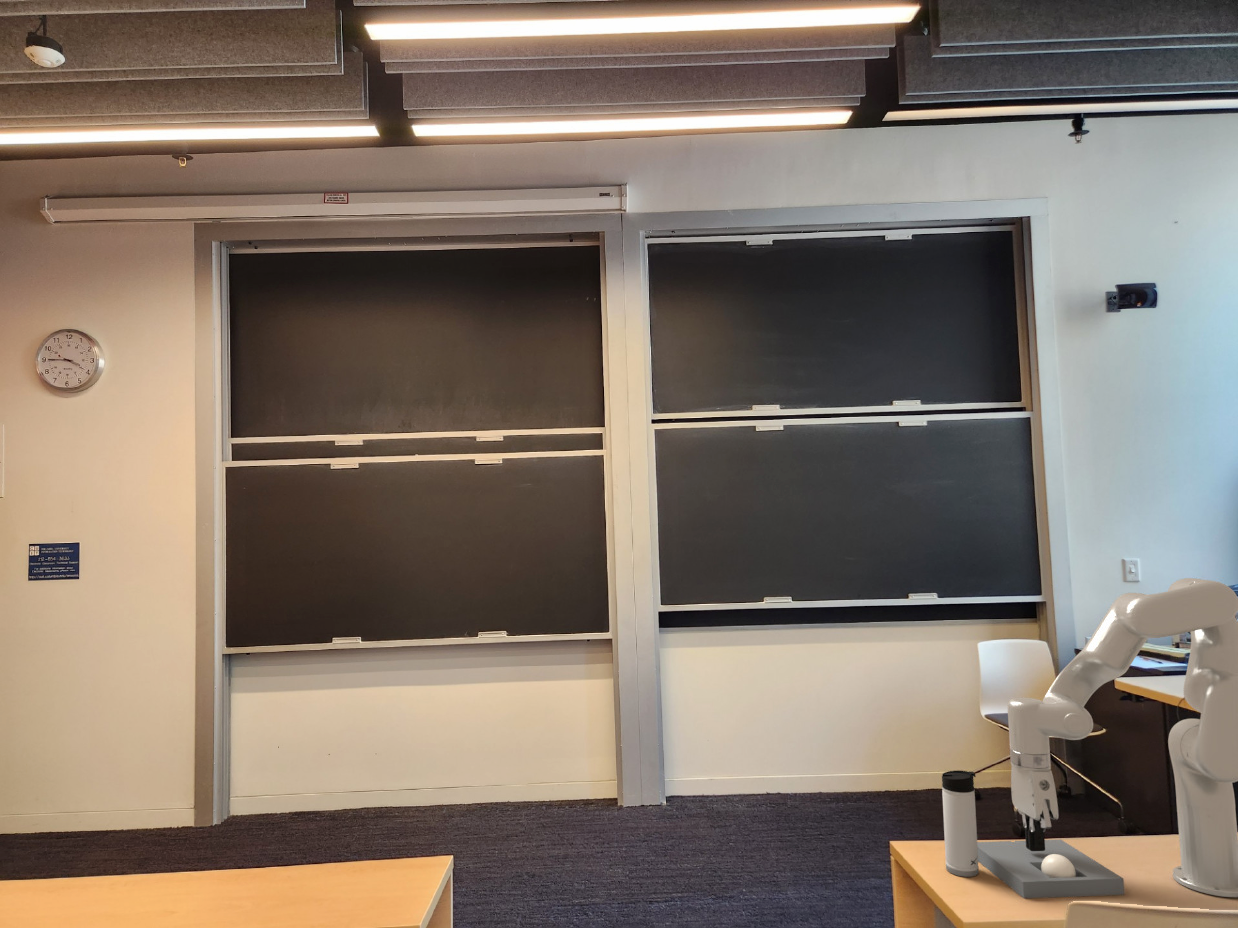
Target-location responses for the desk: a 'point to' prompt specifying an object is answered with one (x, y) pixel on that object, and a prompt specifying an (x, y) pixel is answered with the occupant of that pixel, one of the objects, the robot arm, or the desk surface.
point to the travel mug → (960, 823)
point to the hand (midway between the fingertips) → (1035, 849)
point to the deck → (1031, 882)
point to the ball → (1057, 866)
